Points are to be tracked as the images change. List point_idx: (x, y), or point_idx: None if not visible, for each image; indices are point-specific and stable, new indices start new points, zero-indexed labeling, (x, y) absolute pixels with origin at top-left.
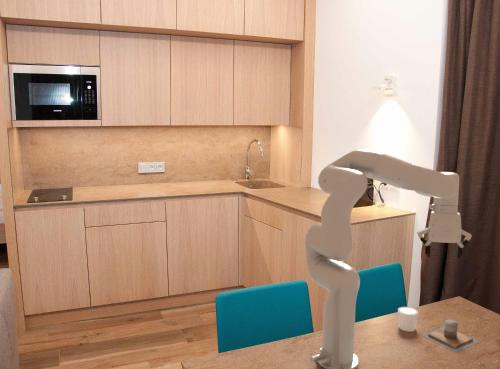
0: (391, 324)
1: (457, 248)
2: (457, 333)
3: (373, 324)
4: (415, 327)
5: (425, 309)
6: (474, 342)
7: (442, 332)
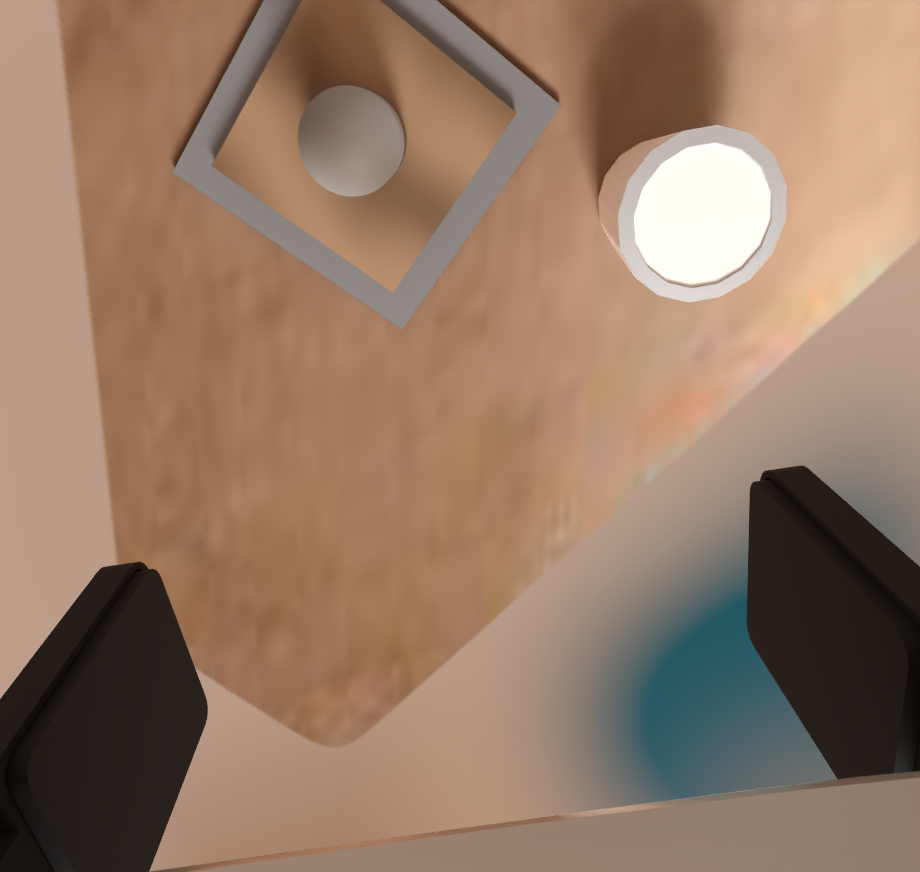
0: None
1: (77, 805)
2: (316, 209)
3: (889, 181)
4: (604, 189)
5: (521, 545)
6: (203, 140)
7: (417, 183)
